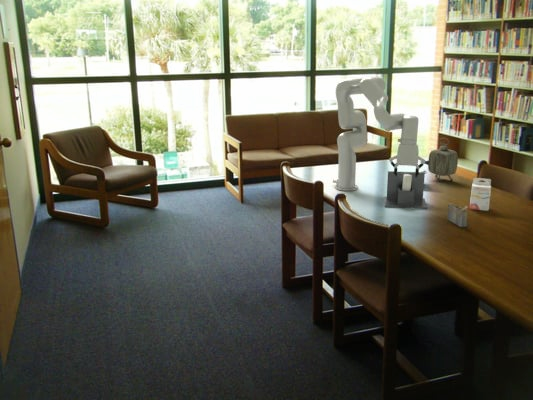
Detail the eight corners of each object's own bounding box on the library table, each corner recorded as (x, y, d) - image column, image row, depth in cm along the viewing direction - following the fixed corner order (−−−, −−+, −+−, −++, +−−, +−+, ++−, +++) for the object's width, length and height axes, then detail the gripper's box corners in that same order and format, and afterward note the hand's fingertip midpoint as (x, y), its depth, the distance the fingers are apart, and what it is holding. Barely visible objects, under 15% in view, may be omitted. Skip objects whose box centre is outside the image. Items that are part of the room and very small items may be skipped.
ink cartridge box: (469, 209, 259) (472, 179, 255) (469, 206, 264) (472, 177, 260) (488, 211, 257) (492, 181, 252) (488, 208, 261) (491, 178, 257)
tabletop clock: (456, 181, 310) (459, 138, 303) (445, 183, 306) (449, 140, 298) (435, 176, 322) (438, 135, 315) (425, 178, 317) (428, 137, 310)
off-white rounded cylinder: (399, 198, 267) (402, 175, 264) (403, 196, 270) (406, 173, 267) (407, 200, 265) (409, 176, 261) (410, 198, 268) (413, 175, 264)
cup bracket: (384, 198, 279) (385, 170, 275) (424, 200, 275) (426, 171, 271) (384, 207, 265) (386, 177, 261) (426, 208, 261) (428, 179, 257)
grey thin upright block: (467, 227, 236) (469, 206, 233) (460, 228, 235) (462, 206, 232) (453, 219, 246) (454, 199, 244) (447, 220, 246) (448, 199, 243)
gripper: (390, 142, 258) (388, 177, 263) (427, 144, 254) (424, 178, 260) (390, 139, 265) (387, 173, 270) (426, 141, 261) (423, 174, 267)
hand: (405, 175), depth 265 cm, fingers open, 9 cm apart
